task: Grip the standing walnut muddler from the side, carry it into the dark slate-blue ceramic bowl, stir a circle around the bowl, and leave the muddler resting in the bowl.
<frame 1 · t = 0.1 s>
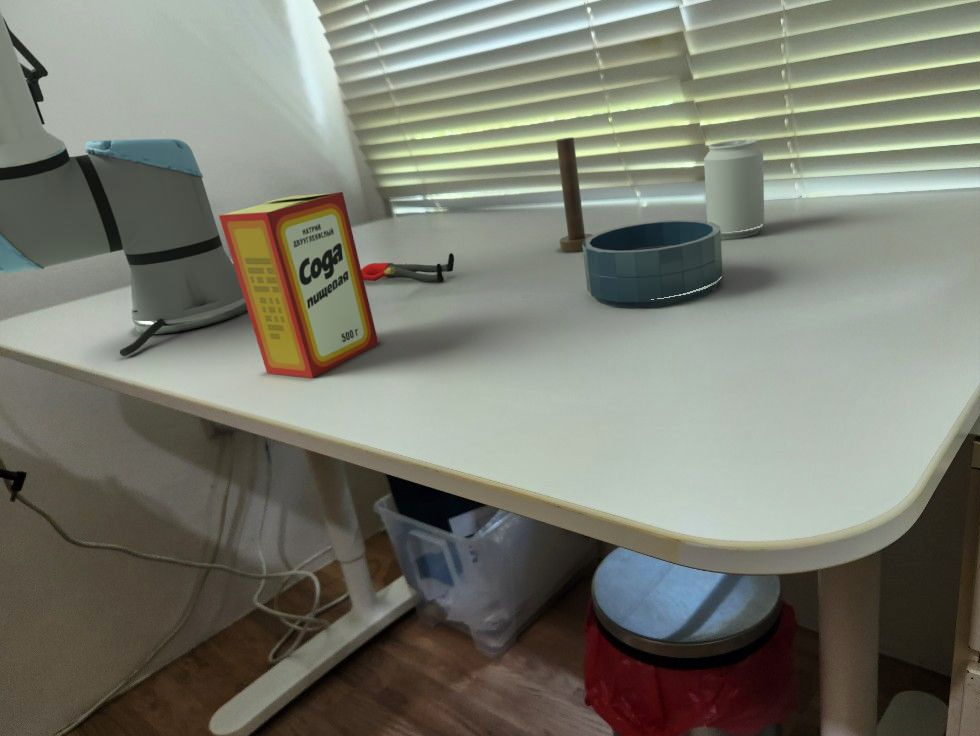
baking soda box: (324, 359, 77), on the table
muddler: (578, 247, 108), on the table
can: (735, 235, 102), on the table
bowl: (654, 289, 83), on the table
person figure: (394, 281, 105), on the table
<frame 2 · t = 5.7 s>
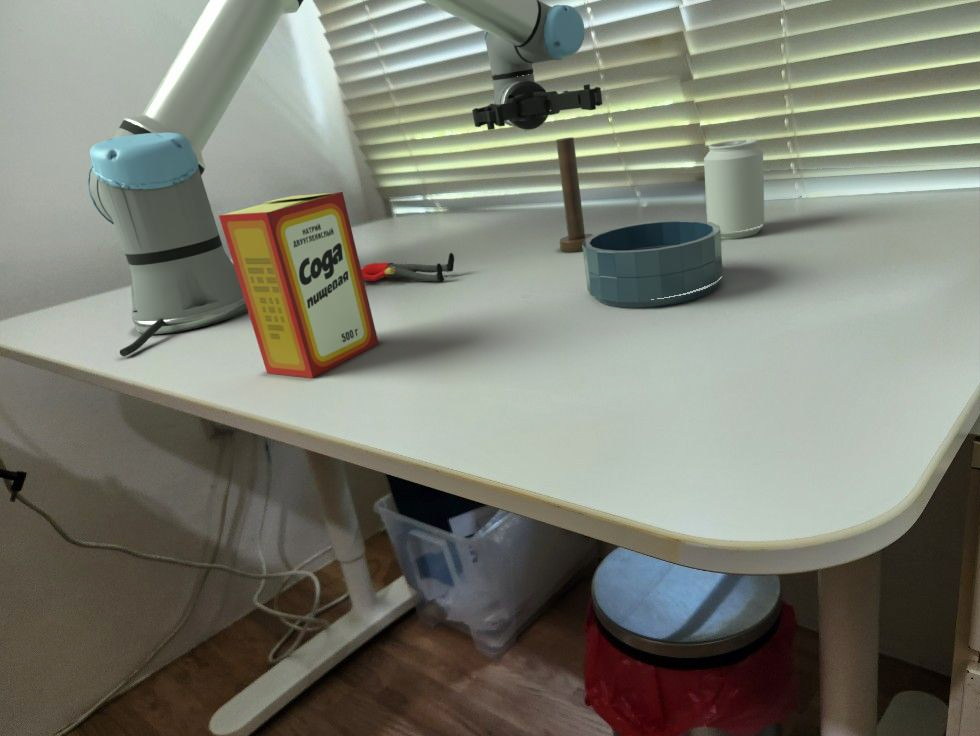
hand: (546, 108, 108), 19 cm above the table, tool horizontal, fingers open, 13 cm apart
nothing on the table moved.
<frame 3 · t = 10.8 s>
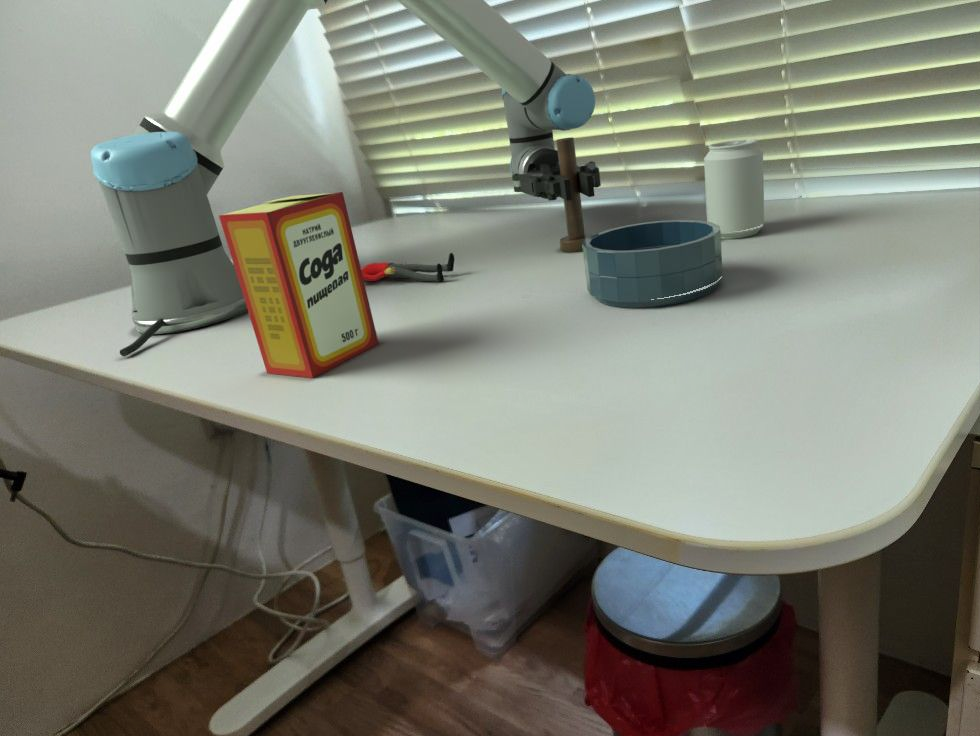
hand: (579, 188, 99), 9 cm above the table, tool horizontal, fingers closed on muddler, 2 cm apart
muddler: (578, 247, 108), on the table, touching gripper
everything else where it was.
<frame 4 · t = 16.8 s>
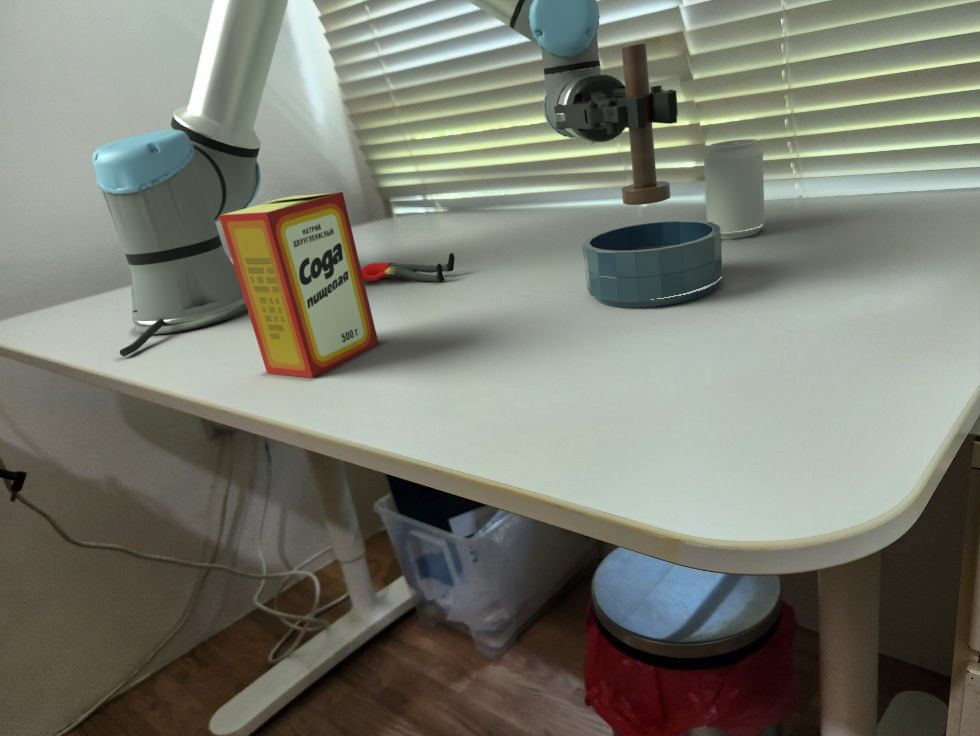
hand: (656, 110, 71), 19 cm above the table, tool horizontal, fingers closed on muddler, 2 cm apart
muddler: (646, 200, 79), point 10 cm above the table, touching gripper
everything else where it was.
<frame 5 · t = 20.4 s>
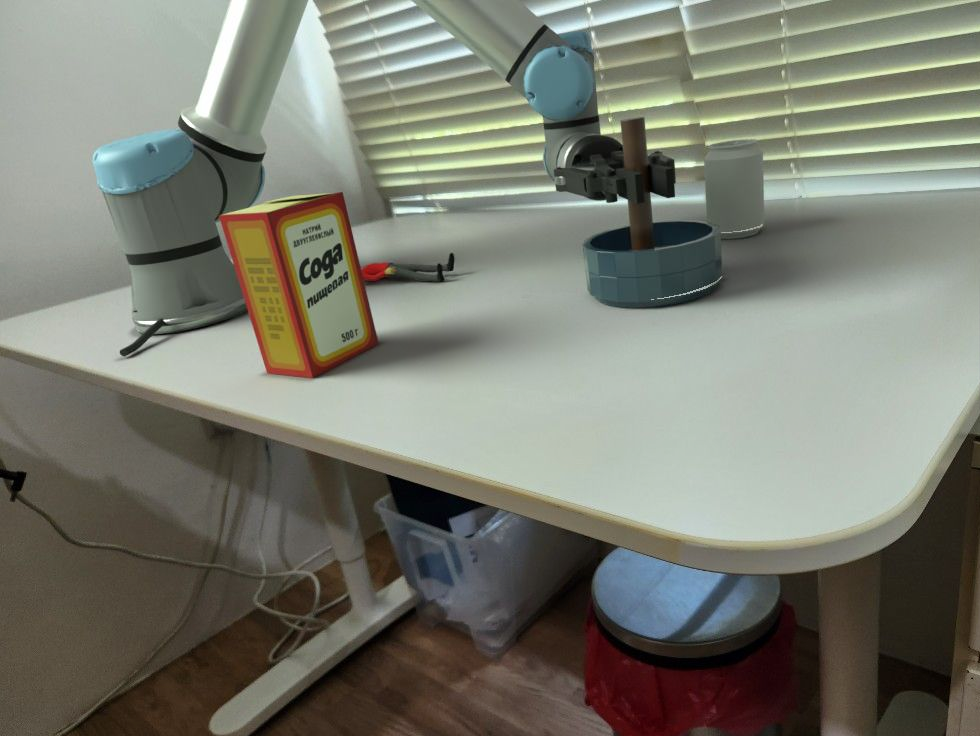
hand: (655, 185, 72), 12 cm above the table, tool horizontal, fingers closed on muddler, 2 cm apart
muddler: (644, 266, 80), point 3 cm above the table, touching gripper
everything else where it was.
when the fingers open (10 cm above the table, at t = 22.9 s): muddler stays where it is, resting on bowl.
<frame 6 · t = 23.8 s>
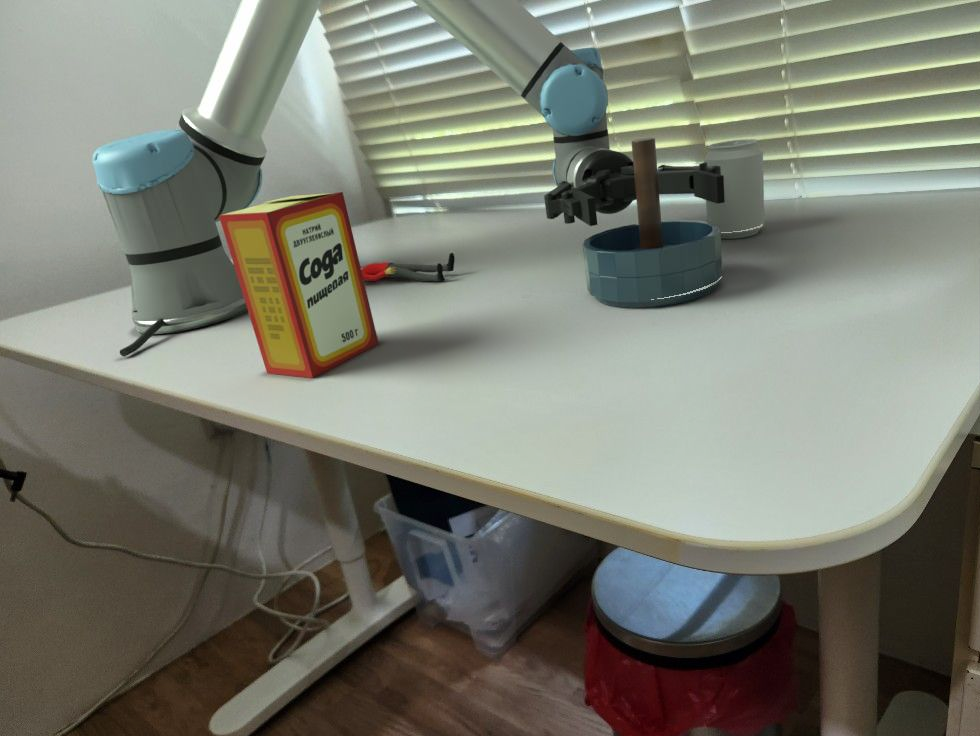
hand: (657, 200, 76), 10 cm above the table, tool horizontal, fingers open, 13 cm apart
muddler: (654, 282, 82), point 1 cm above the table, touching bowl
everything else where it was.
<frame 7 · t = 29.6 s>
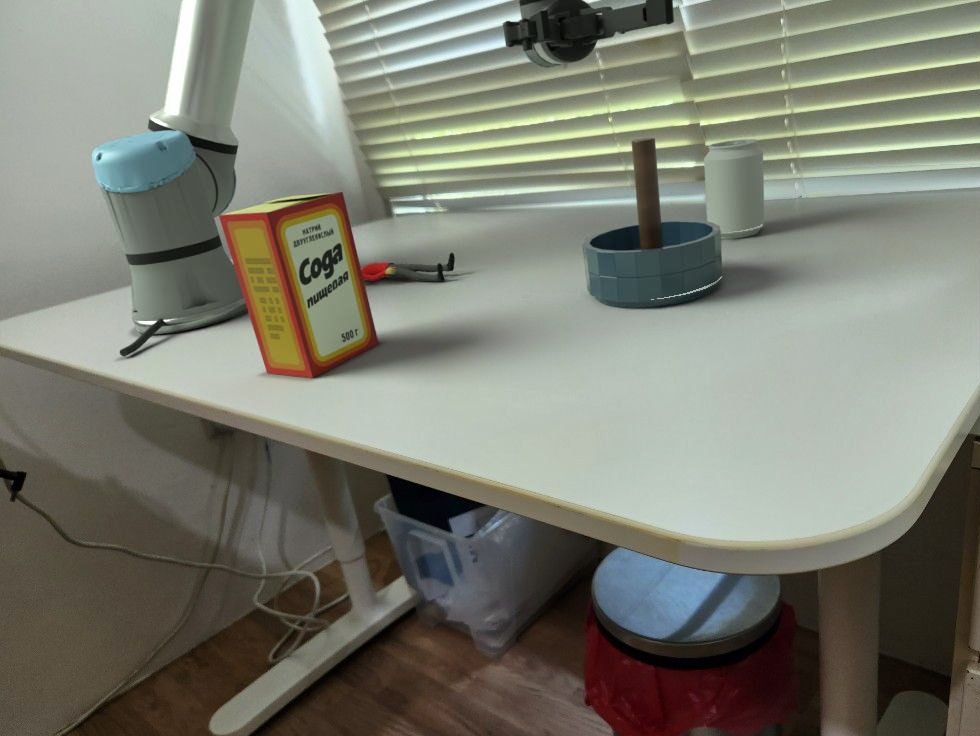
hand: (607, 15, 80), 28 cm above the table, tool horizontal, fingers open, 13 cm apart
nothing on the table moved.
at the end: muddler inside the target area in the bowl (0.0 cm from its centre), point 0.8 cm above the bowl's base; muddler moved 27.8 cm from its start; the gripper is holding nothing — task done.
